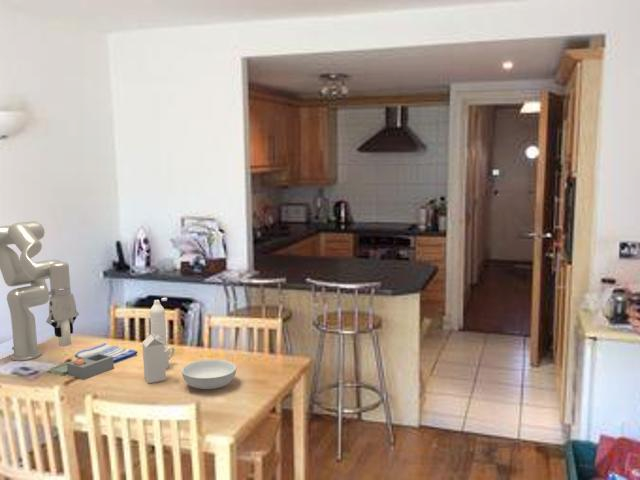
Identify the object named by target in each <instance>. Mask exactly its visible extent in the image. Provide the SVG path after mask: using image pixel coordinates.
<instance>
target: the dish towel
mask: <svg viewBox="0 0 640 480" xmlns="http://www.w3.org/2000/svg"><path fill="white" fill-rule="evenodd" d="M96 353H100V354H104V355H108V356H111V357H113V363H114V364H117V363H120V362H123V361H125V360H128V359H131V358H134V357H137V356H138V350H135V349H130V348H125V347H123V348H121V347H119V346H116V345H111V344H107V343H102V344H98V345H96V346H92V347H90V348H86V349H85V348H84V349H82V350H80V351H76V353H75V355H74V357H75V358H77V359H82V358H84V357H87V356H90V355H93V354H96Z"/></svg>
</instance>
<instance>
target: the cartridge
mask: <svg viewBox="0 0 640 480" xmlns="http://www.w3.org/2000/svg"><path fill="white" fill-rule="evenodd" d="M59 327H60V328H61V337H57V338H58V346H59V347H68V346H71V345H72V337H71V336H72V335H71V333H70V321H69V319H66V320H62V321H60V326H59Z"/></svg>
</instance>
